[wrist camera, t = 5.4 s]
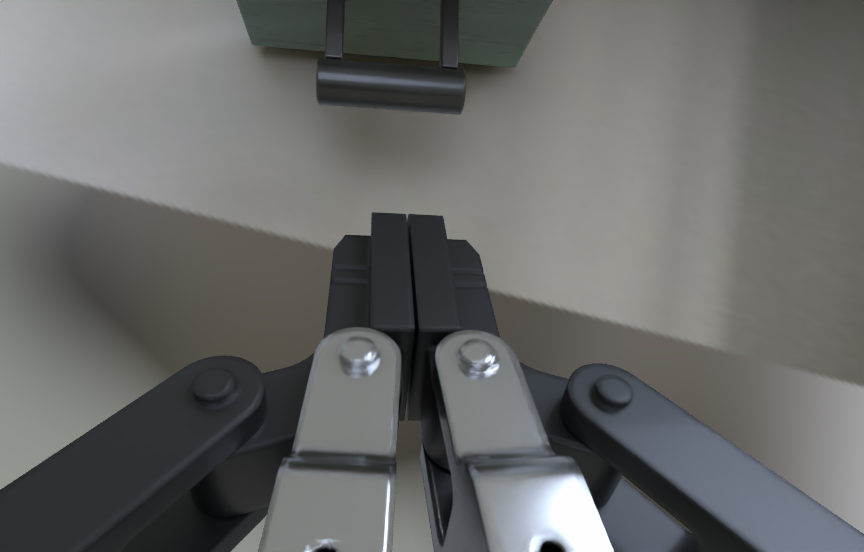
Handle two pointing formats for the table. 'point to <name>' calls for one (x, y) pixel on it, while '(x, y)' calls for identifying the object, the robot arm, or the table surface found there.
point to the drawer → (396, 45)
